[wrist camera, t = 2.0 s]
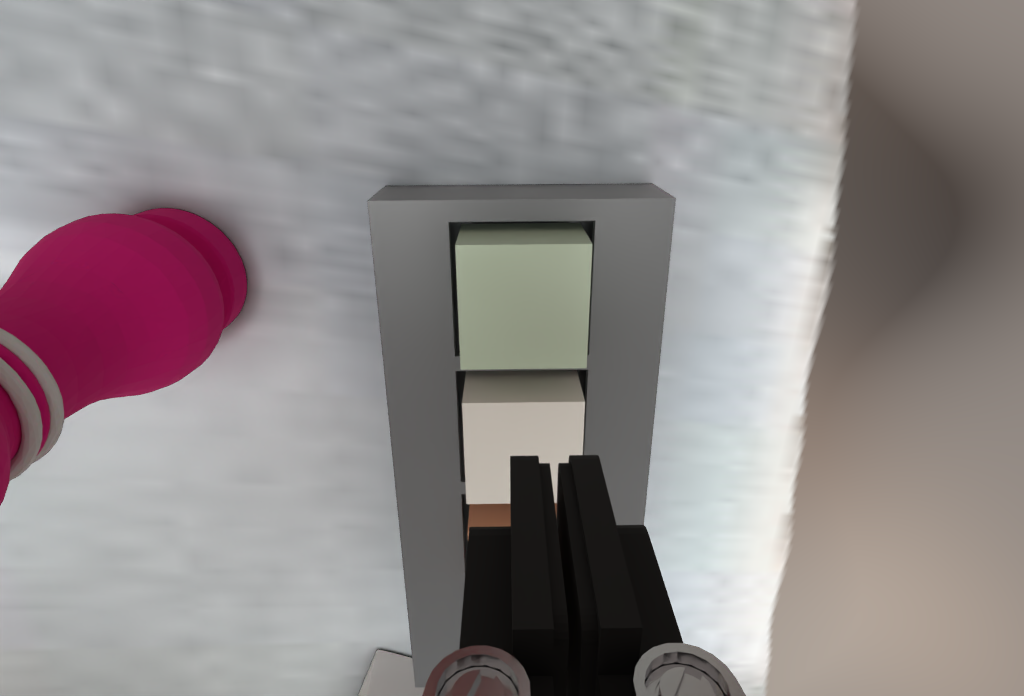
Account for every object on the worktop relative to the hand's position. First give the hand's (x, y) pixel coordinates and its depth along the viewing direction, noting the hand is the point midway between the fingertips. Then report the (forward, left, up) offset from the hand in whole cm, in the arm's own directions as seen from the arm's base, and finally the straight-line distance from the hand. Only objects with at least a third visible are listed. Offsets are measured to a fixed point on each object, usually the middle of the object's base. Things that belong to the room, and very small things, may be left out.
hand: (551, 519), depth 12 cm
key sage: (0, 0, -16) cm, 16 cm away
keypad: (-10, 0, -19) cm, 21 cm away
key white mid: (-7, 0, -16) cm, 18 cm away
